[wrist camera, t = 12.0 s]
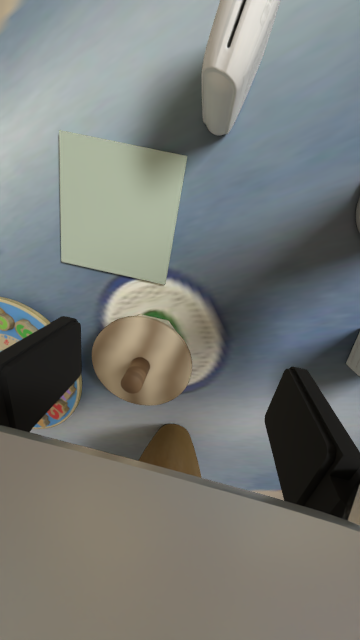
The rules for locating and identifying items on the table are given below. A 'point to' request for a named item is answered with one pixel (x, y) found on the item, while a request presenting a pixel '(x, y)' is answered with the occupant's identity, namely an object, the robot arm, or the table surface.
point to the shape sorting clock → (19, 322)
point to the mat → (118, 205)
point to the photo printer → (233, 58)
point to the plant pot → (172, 450)
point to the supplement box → (355, 357)
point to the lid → (142, 360)
